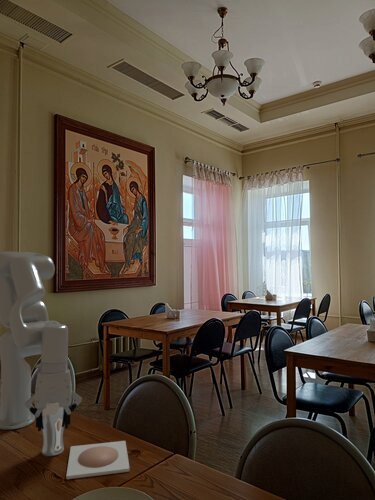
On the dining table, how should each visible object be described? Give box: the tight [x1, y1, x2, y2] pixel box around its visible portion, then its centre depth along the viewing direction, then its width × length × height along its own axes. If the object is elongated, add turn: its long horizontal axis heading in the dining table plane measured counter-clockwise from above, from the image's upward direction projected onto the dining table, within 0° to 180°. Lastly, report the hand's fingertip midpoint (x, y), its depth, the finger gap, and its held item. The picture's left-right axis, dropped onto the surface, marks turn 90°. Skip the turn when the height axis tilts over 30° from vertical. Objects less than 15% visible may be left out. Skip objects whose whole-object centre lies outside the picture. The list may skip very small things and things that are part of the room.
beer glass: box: [41, 402, 66, 457], centre depth 110 cm, size 7×7×15 cm
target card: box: [65, 440, 131, 480], centre depth 105 cm, size 16×16×1 cm
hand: (53, 427), depth 110 cm, fingers closed on beer glass, 6 cm apart
